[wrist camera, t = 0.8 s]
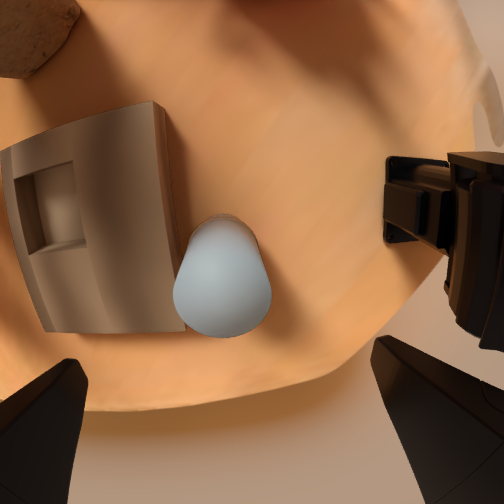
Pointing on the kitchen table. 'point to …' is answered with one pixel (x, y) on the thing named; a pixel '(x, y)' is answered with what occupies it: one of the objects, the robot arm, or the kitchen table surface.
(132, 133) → the board
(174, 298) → the peg
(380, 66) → the kitchen table surface
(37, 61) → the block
